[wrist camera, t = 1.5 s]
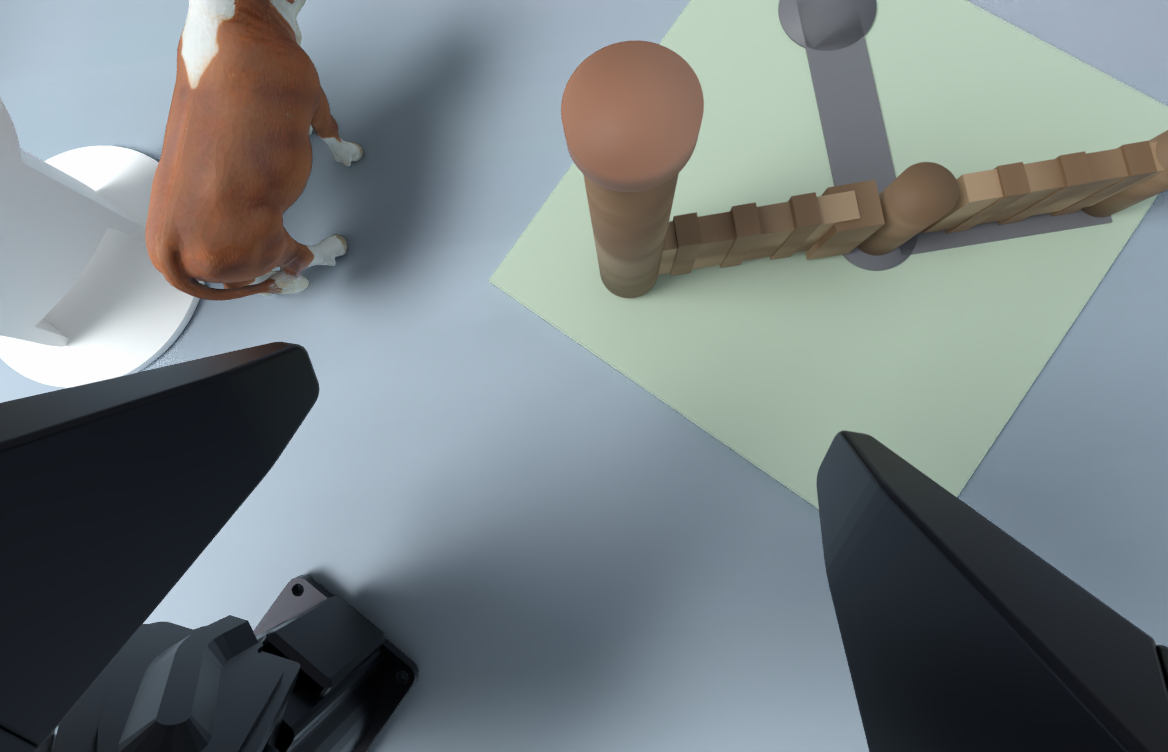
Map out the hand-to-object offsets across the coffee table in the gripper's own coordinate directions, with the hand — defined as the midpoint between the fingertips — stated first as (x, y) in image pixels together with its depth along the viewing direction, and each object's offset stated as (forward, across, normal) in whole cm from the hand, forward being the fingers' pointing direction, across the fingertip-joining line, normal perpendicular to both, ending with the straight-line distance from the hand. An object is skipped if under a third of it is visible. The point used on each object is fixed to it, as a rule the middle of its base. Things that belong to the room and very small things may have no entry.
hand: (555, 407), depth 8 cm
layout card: (+17, +8, -2) cm, 19 cm away
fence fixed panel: (+17, +14, -2) cm, 22 cm away
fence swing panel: (+14, +3, -4) cm, 15 cm away
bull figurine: (+16, -14, -3) cm, 21 cm away
